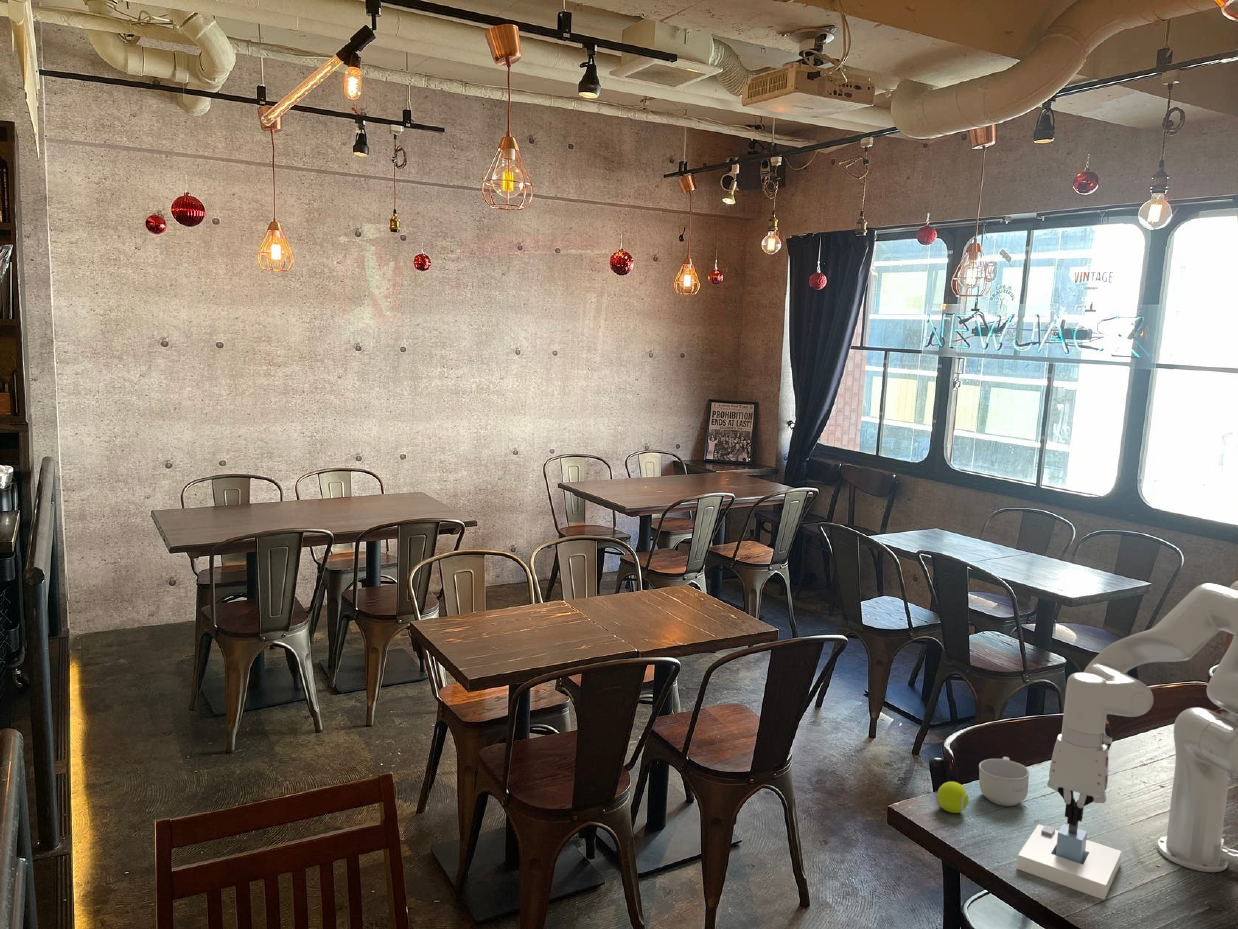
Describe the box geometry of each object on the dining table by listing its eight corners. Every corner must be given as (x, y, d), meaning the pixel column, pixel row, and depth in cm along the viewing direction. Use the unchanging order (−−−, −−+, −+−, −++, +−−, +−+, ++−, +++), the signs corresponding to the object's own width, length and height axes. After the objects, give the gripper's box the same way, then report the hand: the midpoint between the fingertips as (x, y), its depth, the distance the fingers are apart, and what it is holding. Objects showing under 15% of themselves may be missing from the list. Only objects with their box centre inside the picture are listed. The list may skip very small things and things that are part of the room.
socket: (1120, 865, 188) (1122, 847, 188) (1104, 900, 176) (1106, 881, 175) (1037, 837, 198) (1038, 820, 198) (1016, 868, 186) (1018, 851, 185)
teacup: (1019, 816, 207) (1022, 782, 206) (970, 801, 214) (973, 768, 213) (1034, 794, 218) (1037, 762, 217) (987, 779, 225) (990, 748, 224)
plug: (1083, 864, 187) (1088, 822, 186) (1078, 873, 184) (1083, 831, 183) (1060, 856, 190) (1064, 815, 189) (1054, 865, 187) (1058, 823, 185)
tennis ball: (942, 801, 213) (944, 773, 212) (971, 811, 209) (974, 783, 208) (931, 811, 208) (933, 783, 207) (961, 822, 204) (963, 793, 203)
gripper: (1127, 741, 182) (1117, 828, 184) (1047, 720, 191) (1038, 803, 193) (1120, 753, 176) (1110, 843, 178) (1037, 730, 185) (1028, 816, 187)
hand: (1073, 822), depth 186 cm, fingers closed
